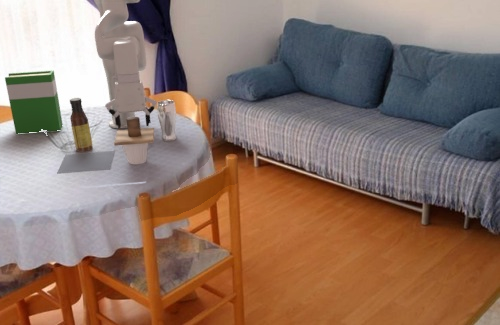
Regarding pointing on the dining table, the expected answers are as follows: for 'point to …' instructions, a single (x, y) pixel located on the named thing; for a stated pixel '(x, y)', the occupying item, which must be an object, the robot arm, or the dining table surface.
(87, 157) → the slate mat
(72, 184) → the dining table surface
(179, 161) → the dining table surface
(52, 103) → the hardback book
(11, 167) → the dining table surface
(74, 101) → the sauce bottle
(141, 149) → the cup
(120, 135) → the oak lid
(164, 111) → the beer glass
